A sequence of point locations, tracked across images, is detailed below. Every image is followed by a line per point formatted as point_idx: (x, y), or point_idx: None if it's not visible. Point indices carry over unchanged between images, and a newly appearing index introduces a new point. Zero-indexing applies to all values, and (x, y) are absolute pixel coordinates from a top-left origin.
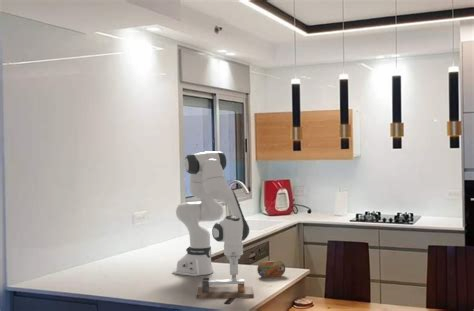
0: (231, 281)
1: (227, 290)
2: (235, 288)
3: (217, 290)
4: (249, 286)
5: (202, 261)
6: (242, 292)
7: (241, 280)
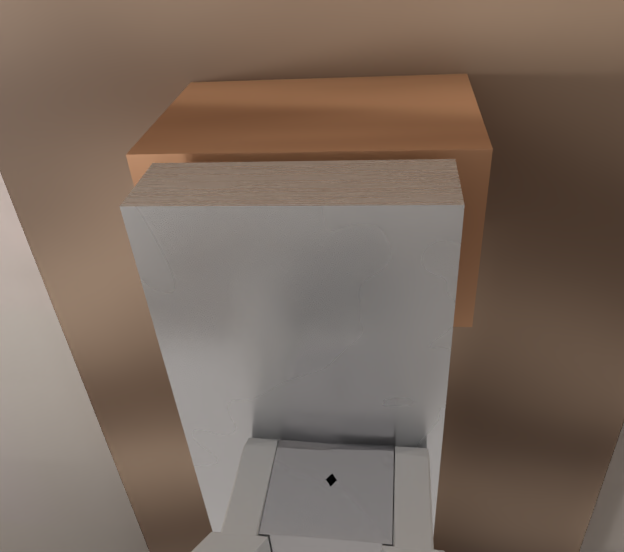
0: (433, 514)
1: None
2: None
3: None
4: None
5: None
6: (541, 123)
7: (360, 294)
